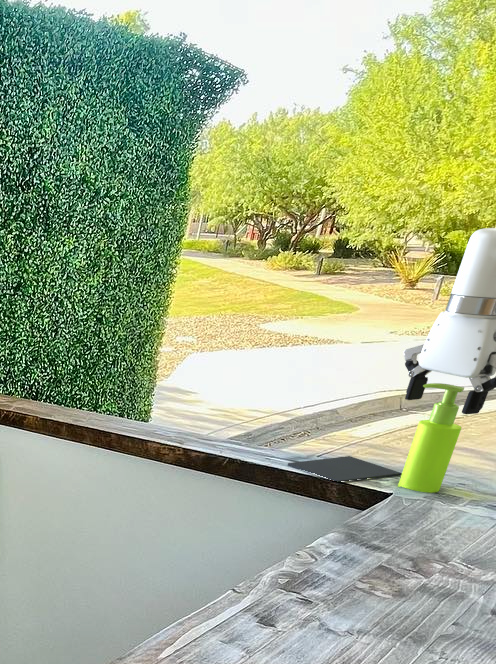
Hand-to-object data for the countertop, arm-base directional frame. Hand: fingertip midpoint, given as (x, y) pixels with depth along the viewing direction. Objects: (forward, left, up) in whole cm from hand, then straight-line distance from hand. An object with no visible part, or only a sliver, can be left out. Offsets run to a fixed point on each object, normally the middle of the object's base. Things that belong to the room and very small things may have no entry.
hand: (440, 406), depth 134 cm
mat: (+1, -13, -16) cm, 21 cm away
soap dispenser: (0, 0, -16) cm, 16 cm away
